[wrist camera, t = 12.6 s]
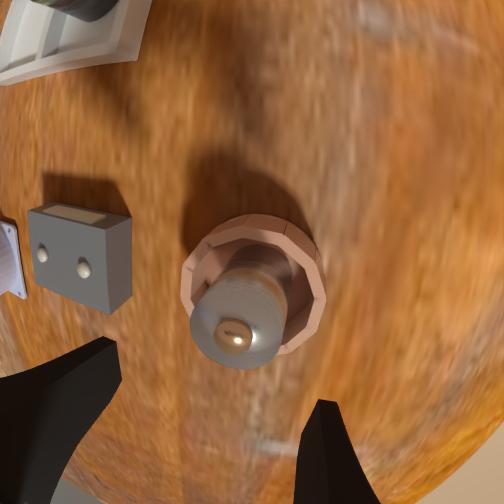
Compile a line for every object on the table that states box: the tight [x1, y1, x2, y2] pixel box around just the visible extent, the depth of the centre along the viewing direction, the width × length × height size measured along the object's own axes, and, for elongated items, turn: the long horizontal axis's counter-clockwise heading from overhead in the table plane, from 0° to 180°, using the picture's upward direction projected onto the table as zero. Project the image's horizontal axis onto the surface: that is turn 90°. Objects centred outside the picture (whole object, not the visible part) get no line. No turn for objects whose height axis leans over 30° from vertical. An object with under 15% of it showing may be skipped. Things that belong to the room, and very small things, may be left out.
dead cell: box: [190, 244, 293, 369], centre depth 15 cm, size 4×4×6 cm
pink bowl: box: [180, 214, 327, 355], centre depth 17 cm, size 8×8×3 cm
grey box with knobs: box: [28, 202, 132, 315], centre depth 19 cm, size 8×6×3 cm
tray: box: [0, 0, 152, 85], centre depth 13 cm, size 16×11×2 cm
